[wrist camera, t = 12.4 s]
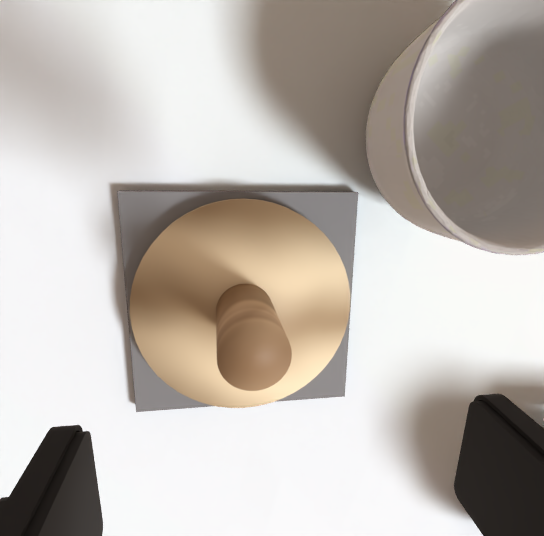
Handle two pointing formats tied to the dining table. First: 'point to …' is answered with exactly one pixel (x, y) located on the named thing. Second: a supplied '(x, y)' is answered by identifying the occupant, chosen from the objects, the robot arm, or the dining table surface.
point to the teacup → (467, 127)
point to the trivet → (174, 204)
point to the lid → (239, 303)
